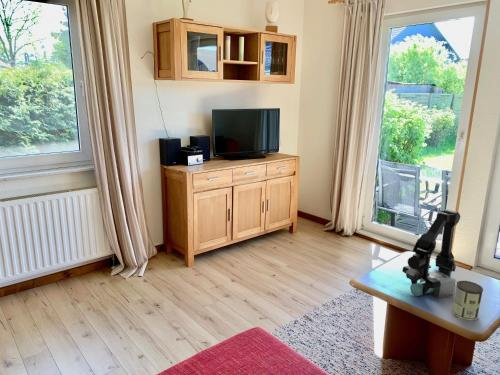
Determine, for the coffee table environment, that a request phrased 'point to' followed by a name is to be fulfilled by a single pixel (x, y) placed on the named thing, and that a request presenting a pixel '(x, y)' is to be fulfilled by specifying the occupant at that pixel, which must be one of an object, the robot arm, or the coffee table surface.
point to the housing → (442, 284)
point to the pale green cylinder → (419, 289)
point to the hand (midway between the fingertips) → (418, 291)
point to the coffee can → (467, 300)
